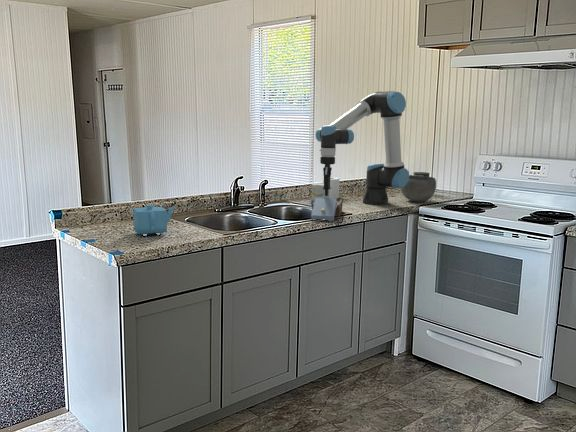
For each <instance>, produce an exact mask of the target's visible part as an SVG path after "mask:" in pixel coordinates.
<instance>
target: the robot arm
mask: <svg viewBox="0 0 576 432" xmlns="http://www.w3.org/2000/svg"><path fill="white" fill-rule="evenodd" d="M406 107H407V102H406V98H405V96H404V94H403V93H401V92H399V91H394V90H387V91H375V92H372V93H371V94H369V95H367V96H365V97H364V98H362V99H361V100H359V101H358V103H357V105H356V106H354V107H353V108H351V109H350V110H349V111H347V112H345V113H344V114H342V115H341V116H340V117H339V118H337V119H336V120H334V121H333V122H332V123H330V124H329V125H322V126H321V127H320V128H318V129H317V130H316V131H315V139H316V141H317V142H319V143H320V149H319V152H320V160H319V161H320V164H322V165H324V167H323V169H322V170H323V171H322V172H323V178H324V188H323V189H324V198H329V193H330V189H331V188H330V177H331V175H332V170H333V169H332V168H333V167H331V165H335V164H336V157H335V156H336V147H337V146H336V145H349V144H352V143H353V142H354V140H355V133H354V131H353V130H352V129H350V128H351V127H352V126H354V125H355V124H356V123H357V122H360V121H361V120H362V119H363V118H365V117H369V116H371V115H373V114H376V113H377V114H380V118H381V119H382V120H383V133H384V135H383V136H384V149H385V150H384V151H385V163H377V164H368V165H367V167H366V181H365V182H366V185H365V187H366V188H365V192H364V194H363V197H362V203H364V204H366V205H367V204H368V205H379V204H380V205H387V203H388V204H389V196H388V193H387V188H393V189H401V188H403V187H404V186H405V185H406V184H407V182H408V180H409V175H410V172H409V170H408V169H407V168H405V163H404V162H403V161H402V148H401V147H402V146H401V144H402V142H401V127H400V119H401V117H402V116H403V112H405V110H406Z"/></svg>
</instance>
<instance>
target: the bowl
mask: <svg viewBox="0 0 576 432" xmlns="http://www.w3.org/2000/svg"><path fill="white" fill-rule="evenodd" d="M400 189H401V190H400V191H401V193H402V195H403V196H404V198H406V199H407V200H409V201H412V202H416V203H417V202H419V203H420V202H422V203H423V202H427V201H429V200H430V199H432V197H433V196H434V194H435V192H436V189H437V179H436V178H435V177H433V176H429V177H425V176H417V175H414V174H409V180H408V182H407V184H406V185H405V186H404V187H403V188H400Z"/></svg>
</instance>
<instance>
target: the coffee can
mask: <svg viewBox="0 0 576 432" xmlns="http://www.w3.org/2000/svg"><path fill="white" fill-rule="evenodd" d="M412 175H417V176H425V177H430V172H424V171H415V172H413V174H412Z"/></svg>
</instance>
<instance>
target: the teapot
mask: <svg viewBox="0 0 576 432" xmlns="http://www.w3.org/2000/svg"><path fill="white" fill-rule="evenodd" d="M177 208H178V207H177V206H172V207H170V208H168V212H167V210H166V209H165V208H164V207H162V206H154V205H153V204H146V206H145V207H133V208H132V209H133V210H132V211H133V230H134V231H135V232H136V234H137V235H142V234H148V235H149V234H156V233H161V234H162V233H168V225H167V224H168V223H169V222H170V220H171V217H172V213H173V211H174V210H175V209H177Z"/></svg>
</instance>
